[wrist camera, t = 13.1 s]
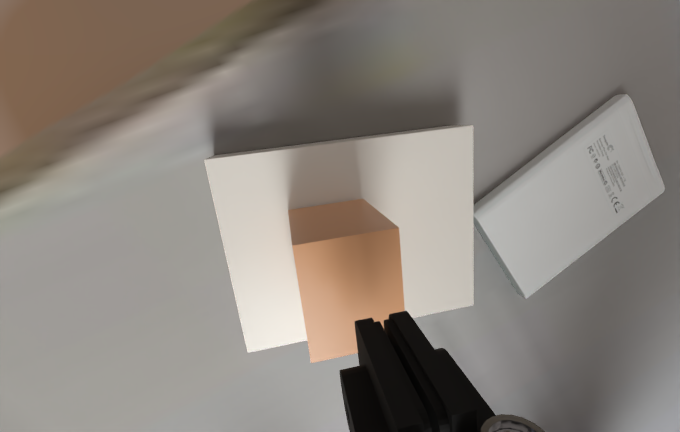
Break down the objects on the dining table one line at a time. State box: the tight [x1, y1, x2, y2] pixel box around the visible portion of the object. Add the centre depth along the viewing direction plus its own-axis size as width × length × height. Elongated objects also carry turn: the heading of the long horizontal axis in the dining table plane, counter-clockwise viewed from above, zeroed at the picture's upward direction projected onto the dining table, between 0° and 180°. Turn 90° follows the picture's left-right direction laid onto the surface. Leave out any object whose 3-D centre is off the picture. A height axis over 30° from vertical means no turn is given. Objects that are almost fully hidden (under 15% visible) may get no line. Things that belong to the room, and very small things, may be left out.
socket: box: [204, 125, 474, 353], centre depth 20 cm, size 14×11×2 cm
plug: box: [288, 199, 405, 363], centre depth 17 cm, size 4×5×8 cm
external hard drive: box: [473, 94, 665, 299], centre depth 23 cm, size 2×8×12 cm
